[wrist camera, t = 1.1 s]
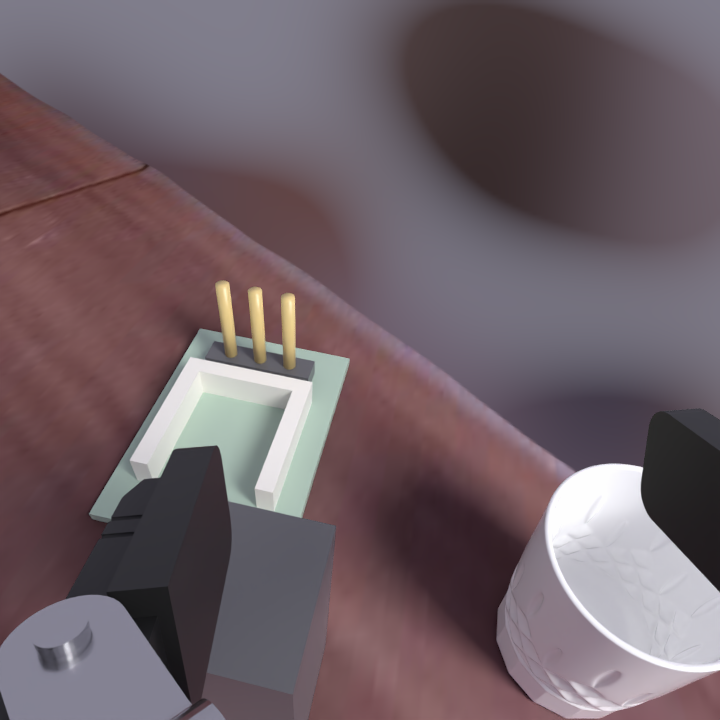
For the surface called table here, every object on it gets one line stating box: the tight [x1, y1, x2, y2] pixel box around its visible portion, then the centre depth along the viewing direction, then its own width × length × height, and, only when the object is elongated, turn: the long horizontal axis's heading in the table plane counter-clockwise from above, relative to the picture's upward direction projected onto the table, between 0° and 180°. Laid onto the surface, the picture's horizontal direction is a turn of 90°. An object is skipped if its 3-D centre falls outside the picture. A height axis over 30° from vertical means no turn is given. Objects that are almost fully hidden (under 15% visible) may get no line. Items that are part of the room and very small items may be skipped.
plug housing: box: [201, 501, 336, 720], centre depth 21 cm, size 5×4×12 cm
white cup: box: [496, 464, 720, 719], centre depth 24 cm, size 8×8×10 cm
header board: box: [89, 281, 350, 523], centre depth 33 cm, size 15×11×8 cm
